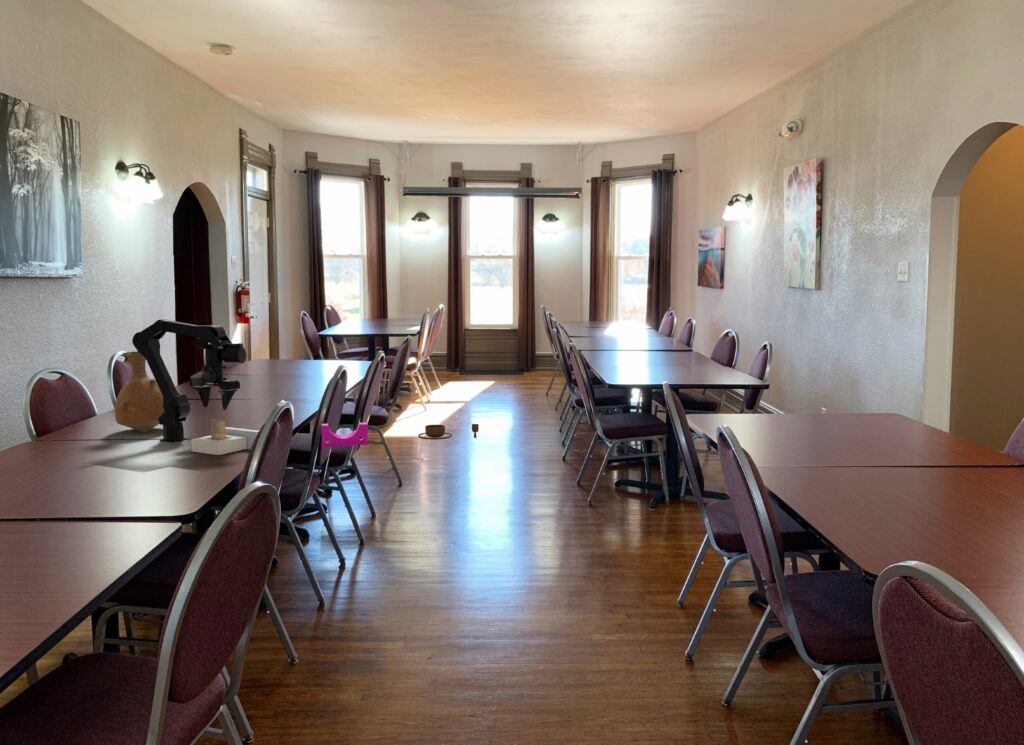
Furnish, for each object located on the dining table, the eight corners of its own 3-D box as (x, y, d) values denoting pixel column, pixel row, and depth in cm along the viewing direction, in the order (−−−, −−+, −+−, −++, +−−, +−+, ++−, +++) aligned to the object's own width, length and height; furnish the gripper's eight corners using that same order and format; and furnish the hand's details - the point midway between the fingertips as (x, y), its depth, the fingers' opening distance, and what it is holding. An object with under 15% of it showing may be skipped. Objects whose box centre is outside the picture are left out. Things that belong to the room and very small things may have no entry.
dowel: (208, 447, 281) (207, 420, 280) (219, 445, 285) (218, 418, 284) (218, 448, 279) (217, 421, 278) (229, 446, 283) (228, 419, 282)
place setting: (440, 434, 318) (440, 418, 318) (481, 440, 306) (481, 424, 305) (405, 440, 305) (405, 424, 304) (447, 447, 292) (447, 430, 292)
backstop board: (212, 444, 293) (211, 426, 292) (218, 443, 295) (217, 425, 294) (256, 450, 283) (256, 432, 283) (262, 448, 286) (261, 430, 285)
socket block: (191, 451, 280) (191, 439, 280) (220, 445, 291) (219, 433, 290) (218, 455, 274) (218, 442, 274) (246, 448, 285) (246, 436, 285)
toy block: (366, 442, 299) (366, 421, 298) (367, 446, 293) (367, 424, 292) (321, 444, 295) (321, 422, 294) (322, 447, 289) (321, 425, 288)
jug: (123, 440, 300) (120, 353, 297) (106, 432, 314) (103, 349, 311) (181, 433, 313) (178, 350, 310) (162, 426, 327) (159, 347, 324)
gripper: (175, 362, 290) (176, 408, 292) (214, 366, 281) (215, 414, 283) (202, 360, 300) (203, 405, 302) (241, 363, 291) (241, 410, 292)
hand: (215, 408), depth 294 cm, fingers open, 9 cm apart
